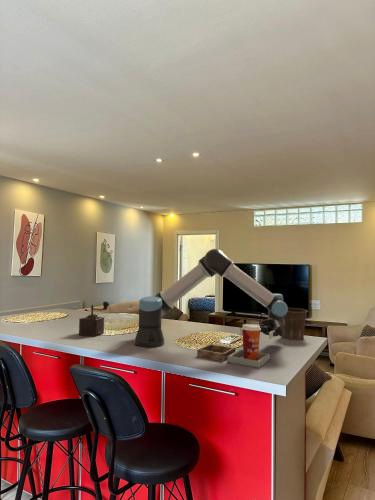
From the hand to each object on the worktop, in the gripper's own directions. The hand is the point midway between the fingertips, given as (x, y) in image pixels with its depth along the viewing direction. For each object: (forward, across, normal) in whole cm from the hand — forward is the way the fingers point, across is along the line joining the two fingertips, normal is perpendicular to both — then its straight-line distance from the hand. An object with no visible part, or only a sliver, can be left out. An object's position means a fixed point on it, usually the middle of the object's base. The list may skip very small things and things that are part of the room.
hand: (255, 333), depth 154 cm
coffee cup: (+6, 0, -10) cm, 12 cm away
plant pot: (-54, -4, -11) cm, 55 cm away
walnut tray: (+7, +16, -11) cm, 20 cm away
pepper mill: (+7, +94, -11) cm, 95 cm away
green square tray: (+6, 0, -11) cm, 13 cm away
